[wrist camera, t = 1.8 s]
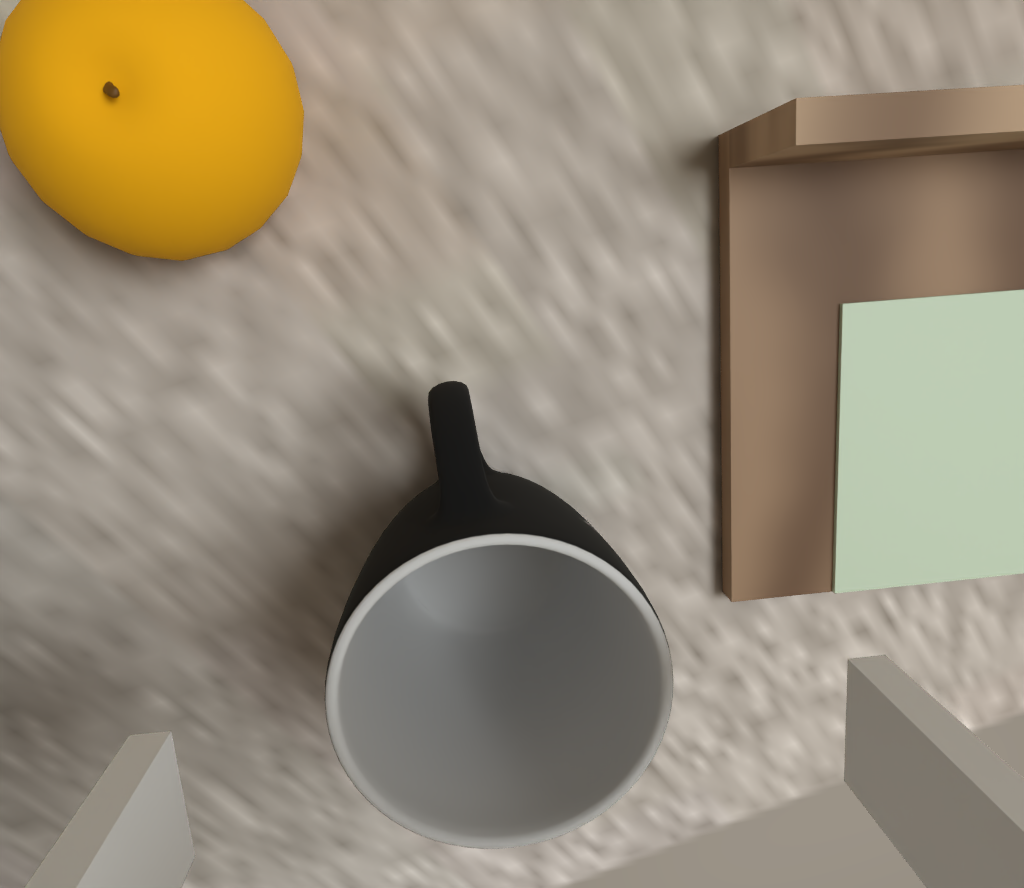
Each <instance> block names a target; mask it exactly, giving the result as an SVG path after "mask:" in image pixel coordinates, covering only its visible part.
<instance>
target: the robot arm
mask: <svg viewBox="0 0 1024 888" xmlns="http://www.w3.org/2000/svg"><path fill="white" fill-rule="evenodd" d="M844 781H845V782H846V784H847V785H848V786H849V787H850V789H851V790H852V791H853V793H854V794H855V795H856V797H857V798H858V799H859V800H860V802H861V803H862V804H863V806H864V807H865V808H866V810H867V811H868V812H869V814H870V815H871V816H872V817H873V819H874V820H875V821H876V823H877V824H878V825H879V826H880V828H881V829H882V830H883V832H884V833H885V834H886V836H887V837H888V838H889V840H890V841H891V842H892V843H893V845H894V846H895V847H896V849H897V850H898V851H899V853H900V854H901V855H902V856H903V858H904V859H905V860H906V862H907V863H908V864H909V866H910V867H911V868H912V869H913V871H914V872H915V873H916V875H917V876H918V877H919V879H920V880H921V881H922V882H923V884H924V885H925V886H926V887H927V888H1024V778H1023V777H1022V776H1021V775H1020V774H1019V773H1017V772H1016V771H1015V770H1014V769H1013V768H1012V767H1011V766H1010V765H1008V764H1007V763H1006V762H1005V761H1004V760H1003V759H1002V758H1001V757H999V756H998V755H997V754H996V753H995V752H994V751H993V750H992V749H990V748H989V747H988V746H987V745H986V744H985V743H984V742H982V741H981V740H980V739H979V738H978V737H977V736H976V735H975V734H974V733H972V732H971V731H970V730H969V729H968V728H967V727H966V726H965V725H963V724H962V723H961V722H960V721H959V720H958V719H957V718H956V717H954V716H953V715H952V714H951V713H950V712H949V711H948V710H946V709H945V708H944V707H943V706H942V705H941V704H940V703H939V702H937V701H936V700H935V699H934V698H933V697H932V696H931V695H930V694H928V693H927V692H926V691H925V690H924V689H923V688H922V687H921V686H919V685H918V684H917V683H916V682H915V681H914V680H913V679H912V678H910V677H909V676H908V675H907V674H906V673H905V672H904V671H903V670H901V669H900V668H899V667H898V666H897V665H896V664H895V663H894V662H892V661H891V660H890V659H889V658H888V657H887V656H886V655H881V656H871V657H862V658H853V659H848V671H847V703H846V735H845V767H844ZM194 858H195V851H194V846H193V841H192V836H191V831H190V826H189V820H188V815H187V810H186V805H185V800H184V794H183V789H182V784H181V779H180V774H179V769H178V763H177V758H176V753H175V748H174V743H173V737H172V732H171V731H166V732H156V733H147V734H137V735H129V737H128V738H127V740H126V741H125V743H124V744H123V745H122V747H121V748H120V750H119V751H118V753H117V754H116V756H115V757H114V759H113V760H112V761H111V763H110V764H109V766H108V767H107V769H106V770H105V772H104V773H103V775H102V776H101V777H100V779H99V780H98V782H97V783H96V785H95V786H94V788H93V789H92V790H91V792H90V793H89V795H88V796H87V798H86V799H85V801H84V802H83V804H82V805H81V806H80V808H79V809H78V811H77V812H76V814H75V815H74V817H73V818H72V819H71V821H70V822H69V824H68V825H67V827H66V828H65V830H64V831H63V833H62V834H61V835H60V837H59V838H58V840H57V841H56V843H55V844H54V846H53V847H52V849H51V850H50V851H49V853H48V854H47V856H46V857H45V859H44V860H43V862H42V863H41V864H40V866H39V867H38V869H37V870H36V872H35V873H34V875H33V876H32V878H31V879H30V880H29V882H28V883H27V885H26V886H25V888H181V887H182V885H183V883H184V880H185V878H186V876H187V874H188V871H189V869H190V867H191V864H192V862H193V860H194Z"/></svg>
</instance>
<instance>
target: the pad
mask: <svg viewBox="0 0 1024 888" xmlns="http://www.w3.org/2000/svg"><path fill="white" fill-rule="evenodd" d="M1022 573H1024V289H1020V290H1008V291H995V292H982V293H969V294H957V295H944V296H931V297H919V298H906V299H893V300H881V301H868V302H855V303H842V304H840V321H839V359H838V396H837V434H836V471H835V509H834V546H833V584H832V591H833V592H834V593H844V592H853V591H862V590H872V589H881V588H890V587H900V586H909V585H919V584H928V583H937V582H947V581H956V580H966V579H975V578H984V577H994V576H1003V575H1013V574H1022Z"/></svg>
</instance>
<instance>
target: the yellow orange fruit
mask: <svg viewBox="0 0 1024 888" xmlns="http://www.w3.org/2000/svg"><path fill="white" fill-rule="evenodd" d="M303 119H304V110H303V105H302V101H301V97H300V93H299V89H298V85H297V81H296V77H295V72H294V68H293V66H292V63H291V61H290V60H289V58H288V56H287V55H286V53H285V52H284V50H283V49H282V47H281V45H280V44H279V42H278V41H277V39H276V37H275V36H274V34H273V33H272V31H271V29H270V28H269V26H268V25H267V23H266V21H265V20H264V19H263V18H262V17H261V16H260V15H259V14H258V13H257V12H256V11H254V10H253V9H252V8H251V7H250V6H249V5H248V4H247V3H246V2H245V1H243V0H21V1H20V2H19V3H18V5H17V6H16V7H15V9H14V10H13V11H12V13H11V14H10V15H9V17H8V18H7V19H6V21H5V25H4V29H3V32H2V36H1V40H0V130H1V133H2V136H3V139H4V142H5V145H6V148H7V151H8V154H9V156H10V158H11V160H12V161H13V163H14V164H15V165H16V167H17V168H18V169H19V171H20V172H21V173H22V175H23V176H24V177H25V179H26V180H27V181H28V183H29V184H30V185H31V187H32V188H33V189H34V191H35V192H36V193H37V195H38V196H39V197H40V199H41V200H42V201H43V202H44V203H45V204H47V205H48V206H49V207H51V208H52V209H53V210H54V211H56V212H57V213H58V214H59V215H61V216H62V217H63V218H65V219H66V220H67V221H68V222H70V223H71V224H72V225H73V226H75V227H76V228H77V229H79V230H80V231H81V232H83V233H84V234H85V235H87V236H89V237H91V238H93V239H96V240H98V241H101V242H103V243H105V244H108V245H110V246H112V247H115V248H117V249H120V250H122V251H124V252H127V253H129V254H132V255H136V256H143V257H152V258H161V259H170V260H179V261H183V260H188V259H192V258H196V257H200V256H204V255H208V254H212V253H216V252H220V251H224V250H227V249H229V248H231V247H232V246H234V245H235V244H237V243H238V242H240V241H241V240H243V239H245V238H246V237H248V236H249V235H251V234H252V233H254V232H255V231H257V230H259V229H260V228H261V227H262V226H263V225H264V223H265V222H266V221H267V220H268V219H269V217H270V216H271V215H272V214H273V213H274V211H275V210H276V209H277V208H278V206H279V205H280V204H281V203H282V202H283V200H284V199H285V198H286V197H287V196H288V193H289V190H290V187H291V184H292V182H293V179H294V176H295V173H296V170H297V167H298V164H299V162H300V159H301V155H302V139H303Z"/></svg>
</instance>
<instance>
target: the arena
mask: <svg viewBox="0 0 1024 888" xmlns="http://www.w3.org/2000/svg"><path fill="white" fill-rule="evenodd" d="M719 234H720V352H721V470H722V587H723V592H724V594H725V595H726V596H727V597H728V598H729V599H730V600H731V602H736V601H746V600H755V599H764V598H774V597H783V596H793V595H802V594H812V593H821V592H830V591H832V584H833V546H834V509H835V471H836V434H837V396H838V359H839V321H840V304H842V303H855V302H868V301H881V300H893V299H906V298H919V297H931V296H944V295H957V294H969V293H982V292H995V291H1008V290H1020V289H1024V85H1012V86H995V87H978V88H961V89H944V90H927V91H910V92H893V93H876V94H859V95H842V96H825V97H808V98H796V99H794V100H792V101H789V102H787V103H785V104H783V105H781V106H779V107H777V108H775V109H773V110H771V111H769V112H767V113H764V114H762V115H760V116H758V117H756V118H754V119H752V120H750V121H748V122H746V123H744V124H741V125H739V126H737V127H735V128H733V129H731V130H729V131H727V132H725V133H723V134H721V135H719Z"/></svg>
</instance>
